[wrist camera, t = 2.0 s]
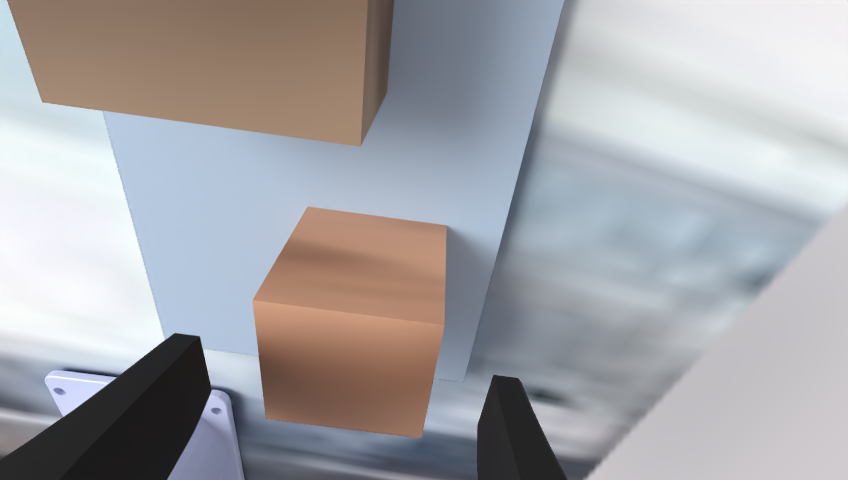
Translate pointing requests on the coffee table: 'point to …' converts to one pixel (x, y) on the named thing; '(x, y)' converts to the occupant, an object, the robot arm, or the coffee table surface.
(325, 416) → the terracotta block
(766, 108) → the coffee table surface
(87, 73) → the base brick
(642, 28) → the coffee table surface
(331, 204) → the board
